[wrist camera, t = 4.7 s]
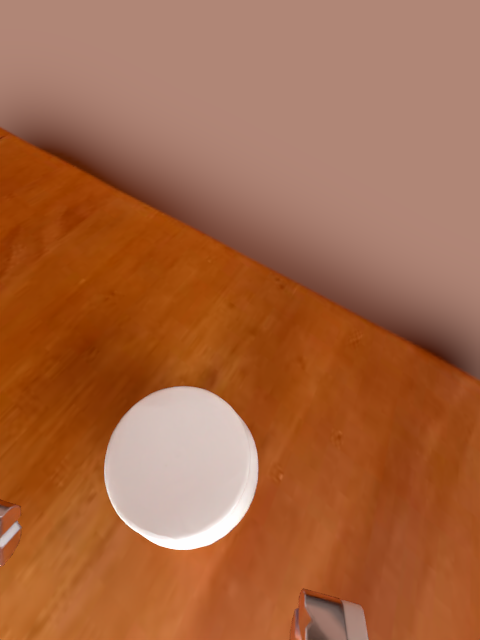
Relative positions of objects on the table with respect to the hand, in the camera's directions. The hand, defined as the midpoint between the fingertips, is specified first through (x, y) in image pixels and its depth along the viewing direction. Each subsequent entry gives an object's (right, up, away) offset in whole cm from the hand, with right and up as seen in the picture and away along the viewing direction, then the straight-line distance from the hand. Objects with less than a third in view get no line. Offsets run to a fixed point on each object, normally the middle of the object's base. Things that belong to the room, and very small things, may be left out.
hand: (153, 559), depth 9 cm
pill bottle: (+1, -1, +7) cm, 8 cm away
